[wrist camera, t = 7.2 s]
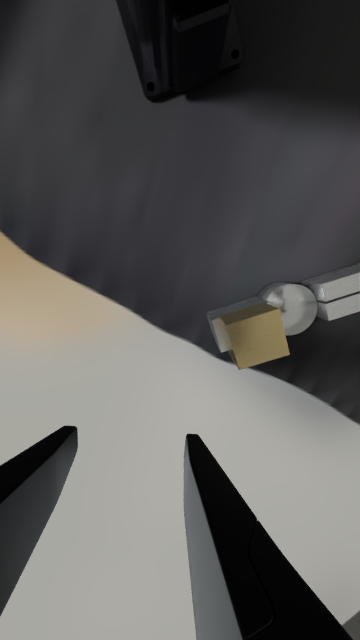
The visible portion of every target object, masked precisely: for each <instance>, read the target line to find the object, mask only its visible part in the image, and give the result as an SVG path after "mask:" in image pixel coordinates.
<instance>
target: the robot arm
mask: <svg viewBox="0 0 360 640" xmlns="http://www.w3.org/2000/svg"><path fill="white" fill-rule="evenodd" d="M116 2H117V6H118V9H119V12H120V16H121V19H122V22H123V26H124V29H125V32H126V36H127V39H128V42H129V46H130V49H131V52H132V56H133V59H134V62H135V66H136V69H137V72H138V75H139V79H140V82H141V85H142V89H143V92H144V95H145V97H146V98H147V99H148V100H151V101H152V100H156V99H159V98H161V97H164V96H167V95H169V94H172V93H174V92H179V93H181V92H183V91H186V90H188V89H191V88H194V87H196V86H199V85H202V84H204V83H207V82H209V81H212V80H215V79H216V77H217V76H219V75H222V74H224V73H227V72H229V71H232V70H235V69H237V68H238V67H239V66H240V64H241V61H242V57H243V49H242V44H241V40H240V35H239V30H238V25H237V21H236V16H235V11H234V7H233V2H232V0H116ZM232 55H235V56H237V59H233V58H232V57H231V56H232ZM149 87H153V88H154V90H153V91H152V92H150V91H148V88H149ZM77 436H78V435H77V427H75V426H63V427H62V428H60V429H58V430H57V431H55V432H54V433H52V434H50V435H49V436H47V437H45V438H44V439H42V440H41V441H39V442H37V443H36V444H34V445H33V446H31V447H29V448H28V449H26V450H25V451H23V452H21V453H20V454H18V455H17V456H15V457H14V458H12V459H10V460H9V461H7V462H5V463H4V464H2V465H1V466H0V616H1V614H2V612H3V610H4V608H5V606H6V604H7V602H8V600H9V598H10V596H11V594H12V592H13V590H14V588H15V586H16V584H17V582H18V580H19V578H20V576H21V574H22V572H23V570H24V568H25V566H26V564H27V562H28V560H29V558H30V556H31V554H32V552H33V549H34V548H35V546H36V544H37V542H38V540H39V538H40V535H41V534H42V532H43V530H44V528H45V526H46V524H47V522H48V520H49V518H50V516H51V514H52V512H53V510H54V508H55V505H56V503H57V501H58V499H59V496H60V494H61V491H62V489H63V486H64V484H65V481H66V479H67V476H68V473H69V471H70V468H71V466H72V463H73V461H74V458H75V455H76V452H77V448H78V440H77V439H78V437H77ZM184 516H185V527H186V536H187V547H188V558H189V568H190V578H191V588H192V598H193V608H194V619H195V629H196V639H197V640H353V639H352V638H351V636H350V635H349V634H348V633H347V632H346V630H345V629H344V628H343V627H342V626H341V624H339V622H338V621H337V620H336V619H335V617H334V616H333V615H332V614H331V612H330V611H329V610H328V609H327V608H326V606H325V605H324V604H323V603H322V602H321V600H319V598H318V597H317V596H316V594H315V593H314V592H313V591H312V590H311V588H310V587H309V586H308V585H307V584H306V582H305V581H304V580H303V579H302V578H301V576H300V575H299V574H298V572H297V571H296V570H295V569H294V567H293V566H292V565H291V564H290V562H289V561H288V560H287V559H286V558H285V556H284V555H283V554H282V552H281V551H280V550H279V548H278V547H277V546H276V544H275V543H274V541H273V540H272V539H271V538H270V536H269V535H268V533H267V532H266V530H265V529H264V528H263V526H262V525H261V523H260V522H259V521H257V518H256V516H255V515H254V513H253V512H252V511H251V509H250V508H249V506H248V505H247V504H246V502H245V501H244V499H243V498H242V497H241V495H240V494H239V492H238V491H237V489H236V488H235V487H234V485H233V484H232V482H231V481H230V479H229V478H228V476H227V475H226V474H225V472H224V471H223V469H222V468H221V467H220V465H219V464H218V462H217V461H216V459H215V458H214V457H213V455H212V454H211V452H210V451H209V450H208V448H207V447H206V445H205V444H204V442H203V441H202V440H201V438H200V437H199V435H197V434H187V435H186V442H185V452H184Z"/></svg>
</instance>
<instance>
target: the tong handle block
mask: <svg viewBox="0 0 360 640" xmlns="http://www.w3.org/2000/svg"><path fill="white" fill-rule="evenodd" d="M262 302H264V303H266V304H269V305H271V306H274V307H276V308H279V310H280V314H281V318H282V323H283V327H284V331H285V335H295V334H298V333H301V332H303V331H304V330H306V329H307V328H308V327H309V326H310V325H311V324H312V322H313V321H314V319H315V317H316V314H317V301H316V298H315V296H314V294H313V293H312V292H311V291H310V290H309V289H308V288H306V287H304V286H302V285H298V284H291V283H284V282H274V283H271V284H269V285H267V286H265V287H264V288H263V289H261V291H260V292H259V293H258V295H257V297H252V298H248V299H245V300H242V301H239V302H236V303H233V304H230V305H227V306H223V307H220V308H217V309H214V310H211V311H208V312H206V313H207V316H208V320H209V323H210V326H211V330H212V333H213V336H214V339H215V341H216V343H217V345H218V347H219V349H220V351H221V352H225V351H228V346H227V343H226V340H225V336H224V333H223V329H222V326H221V322H220V319H219V316H221V315H224V314H228V313H231V312H234V311H237V310H240V309H243V308H247V307H250V306H253V305H256V304H259V303H262Z"/></svg>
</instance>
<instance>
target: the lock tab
mask: <svg viewBox="0 0 360 640" xmlns="http://www.w3.org/2000/svg"><path fill="white" fill-rule="evenodd" d="M219 319H220V322H221V326H222V329H223V333H224V336H225V340H226V343H227V346H228V350H229V353H230V356H231V357H232V359H233V361H234V362H235V364H236V366H237V367H238V369H239V370H240V369H244V368H247V367H250V366H254V365H257V364H260V363H264V362H267V361H270V360H274V359H277V358H280V357H284V356H287V355H290V353H289V349H288V344H287V340H286V336H285V331H284V327H283V323H282V318H281V314H280V310H279V308H276V307H274V306H271V305H269V304H266V303H264V302H262V303H259V304H256V305H253V306H250V307H247V308H243V309H240V310H237V311H234V312H231V313H228V314H224V315H221V316H219Z"/></svg>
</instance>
